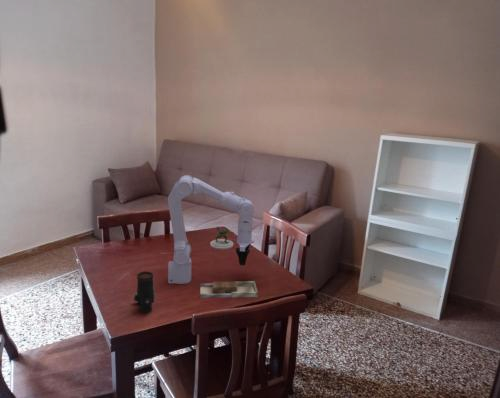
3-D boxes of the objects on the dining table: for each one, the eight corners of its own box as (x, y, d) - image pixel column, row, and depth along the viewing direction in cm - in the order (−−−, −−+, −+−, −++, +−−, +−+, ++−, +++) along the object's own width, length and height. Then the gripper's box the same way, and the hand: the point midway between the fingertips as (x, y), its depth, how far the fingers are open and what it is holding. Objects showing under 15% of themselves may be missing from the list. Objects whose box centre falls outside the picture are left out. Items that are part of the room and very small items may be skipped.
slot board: (200, 299, 147) (200, 293, 146) (200, 287, 156) (200, 281, 155) (257, 298, 150) (257, 292, 149) (254, 286, 159) (254, 281, 158)
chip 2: (225, 294, 150) (225, 287, 149) (224, 288, 155) (224, 281, 154) (236, 294, 151) (237, 287, 150) (235, 288, 155) (236, 281, 154)
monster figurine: (219, 251, 192) (220, 231, 189) (205, 243, 200) (205, 225, 197) (238, 245, 200) (238, 227, 197) (223, 238, 208) (224, 220, 205)
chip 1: (212, 294, 150) (212, 287, 149) (212, 288, 154) (212, 281, 153) (224, 294, 150) (224, 287, 149) (223, 288, 155) (224, 281, 154)
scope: (154, 265, 142) (159, 278, 133) (154, 299, 146) (160, 313, 137) (130, 268, 139) (134, 281, 130) (132, 303, 143) (136, 317, 134)
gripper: (253, 237, 148) (251, 269, 152) (256, 224, 162) (254, 254, 166) (235, 235, 149) (233, 267, 152) (239, 223, 163) (237, 253, 166)
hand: (243, 260), depth 159 cm, fingers open, 7 cm apart
